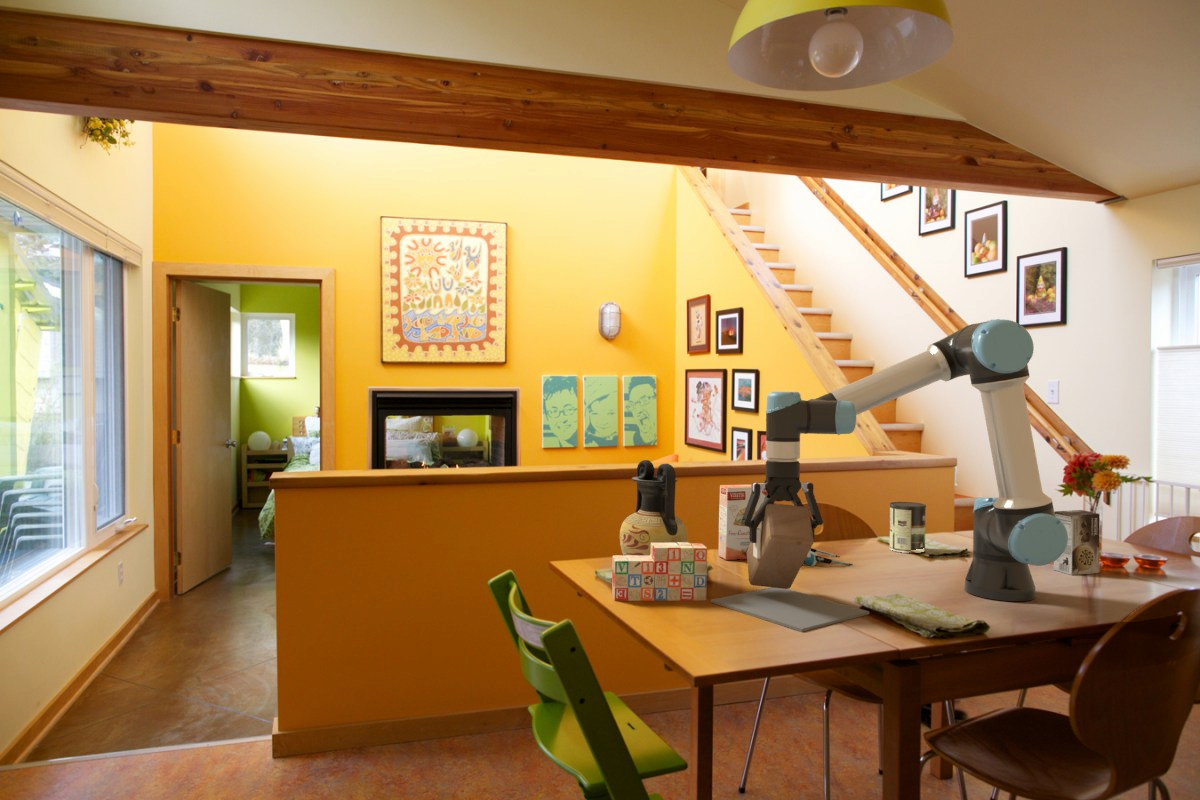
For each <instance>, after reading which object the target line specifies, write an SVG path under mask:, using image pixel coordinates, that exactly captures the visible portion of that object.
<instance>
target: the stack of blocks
mask: <svg viewBox="0 0 1200 800" xmlns="http://www.w3.org/2000/svg"><path fill="white" fill-rule="evenodd" d="M707 559H708V548H707V546H706V545H704V543H702V542H689V541H687V542H677V543H651V550H650V555H649V556H638V555H626V556H624V555H623V554H621V555H619V554H618V555H617V554H616V555H612V563H611V564H612V565H611V566H612V568H611V572H612V573H611V574H612V575H611V580H612V581H611V585H612V586H611V592H612V593H611V594H612V597H613V600H614V601H617V602H618V601H623V602H624V601H626V602H627V601H628V602H629V601H631V602H633V601H634V602H635V601H639V602H640V601H643V602H647V601H648V602H649V601H650V602H652V601H657V602H658V601H662V602H663V601H665V602H666V601H707V581H708V578H707V577H708V561H707Z"/></svg>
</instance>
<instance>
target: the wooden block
mask: <svg viewBox="0 0 1200 800" xmlns="http://www.w3.org/2000/svg"><path fill="white" fill-rule="evenodd" d="M803 506H804V505H803ZM803 506H794V504H792V505H791V504H783V503H776V502H774V504H767V506H766V508H765V516H764V518H763V519H762V521H761V523H760V524H759V526H758V527H757V528H759V529H761V553H760V558H756V557H754V556H753V543H752V542H750V545H749V547H748V549H747V559H746V561H747V572H748V582H749V584H750V585H751V586H755V587H756V586H757V587H766V588H770V587H773V588H783V589H789V590H790V588H791V587H792V586H793V583H794V582H795V580H796V578H797V576H798V574H799V572H800V570H801V568H802V566H803V565H804V564H803V562H804V560H805V558H806V556H807V554H808V552H809V551H810V549H811V548H812V546H813V545H814V541H815V539H814V540H813V534H812V527H811V521H810V517H811V515H810V509H809V507H807V506H804V507H803Z"/></svg>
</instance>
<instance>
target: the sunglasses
mask: <svg viewBox="0 0 1200 800" xmlns="http://www.w3.org/2000/svg"><path fill="white" fill-rule="evenodd" d="M818 553H819V554H823V555H826V556H830V557H833V556H835V557H834V558H837V557H838V558H841V556H839V555H836V554H834V553H830V552H827V551H823V550H820V549H815V548H812V547H811V557H806V558H805V560H804V562H803V564H802V565H805V564H807V565H806V566H810V565H812V566H811V567H814V566H816V564H817V562H818V563H823V564H827V565H830V564H832V563H833V564H838V565H842V566H853V565H854V564H853V563H849V562H843V561H840V560H839V561H838V560H835V559H831V558H828V557H824V556H820V555H818Z"/></svg>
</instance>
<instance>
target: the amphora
mask: <svg viewBox="0 0 1200 800" xmlns="http://www.w3.org/2000/svg"><path fill="white" fill-rule="evenodd" d="M656 469H657V470H656V475H655V466H654V464H653V462H652V461H651V460H648V459H644V460H640V462H639V463H638V464H637V466H636V476H633V477H631V481H632V482H636V507H635V512H634V513H632V514H630V515H628V516H627V517H625V519H624V520H623V522H622V523H621V526H620V530H619V544H620V549H621V553H622V555H624V556H626V555H638V556H649V555H650V550H651V543H677V542H688V531H687V527H686V526H685V525H686V524H685V523H684V522H683V520H682V519H681V518H680V517H678V516H677V515H675V509H676V508H675V505H676V503H675V502H676V501H675V500H676V484H677V482H678V479H677V477H676V471H675V468H674V467H673V465H671V464H670V463H661V464H660V465H658V467H657V468H656Z"/></svg>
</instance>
